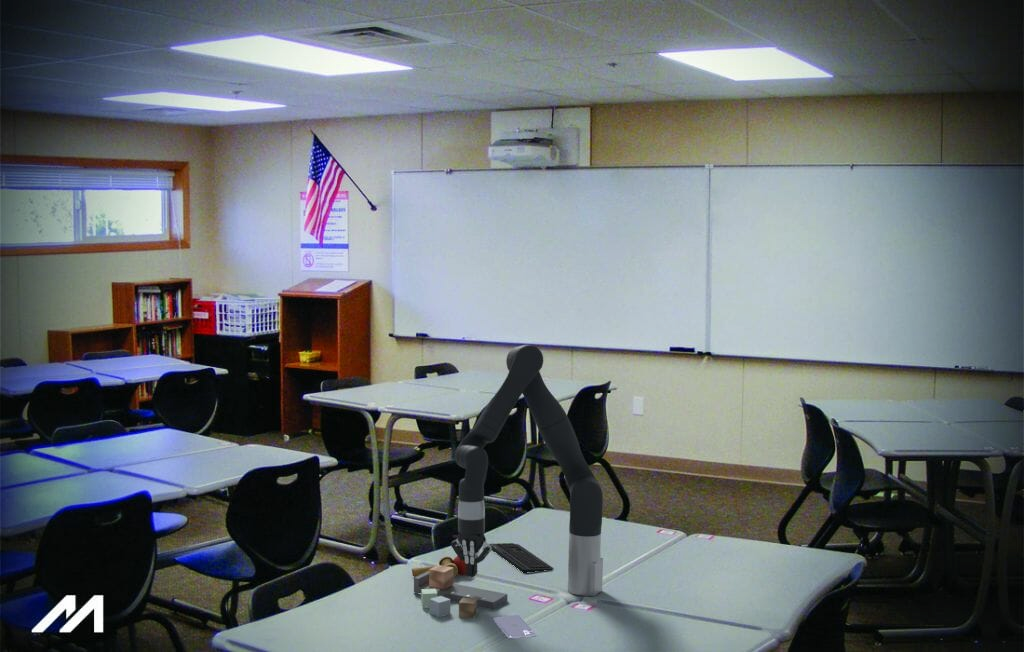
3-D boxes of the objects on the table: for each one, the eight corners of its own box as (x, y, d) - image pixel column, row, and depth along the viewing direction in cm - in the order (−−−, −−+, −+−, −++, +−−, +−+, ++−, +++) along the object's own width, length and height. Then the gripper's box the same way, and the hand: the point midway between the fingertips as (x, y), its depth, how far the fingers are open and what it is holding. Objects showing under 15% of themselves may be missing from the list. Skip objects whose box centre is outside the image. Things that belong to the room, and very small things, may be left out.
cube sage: (435, 602, 276) (435, 588, 275) (437, 607, 272) (437, 593, 271) (421, 603, 275) (421, 589, 274) (422, 608, 271) (422, 593, 271)
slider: (453, 584, 284) (453, 567, 284) (444, 589, 280) (444, 572, 279) (438, 581, 286) (438, 564, 286) (429, 586, 282) (429, 569, 282)
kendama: (416, 587, 292) (475, 574, 297) (413, 565, 293) (472, 553, 298) (412, 583, 300) (470, 571, 305) (409, 562, 300) (466, 551, 305)
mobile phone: (519, 613, 266) (537, 633, 252) (519, 617, 266) (537, 637, 252) (492, 616, 264) (508, 636, 249) (492, 619, 264) (508, 640, 250)
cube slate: (450, 614, 267) (450, 599, 267) (438, 617, 264) (438, 602, 264) (440, 610, 270) (441, 595, 269) (429, 613, 267) (429, 598, 267)
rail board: (507, 601, 278) (507, 585, 277) (493, 609, 271) (493, 593, 270) (428, 585, 290) (429, 570, 289) (413, 593, 283) (414, 577, 282)
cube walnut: (477, 613, 268) (477, 598, 267) (473, 618, 264) (473, 603, 264) (462, 611, 269) (463, 597, 268) (458, 616, 265) (458, 602, 264)
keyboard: (555, 571, 307) (555, 565, 307) (523, 575, 303) (523, 568, 302) (518, 546, 334) (518, 540, 334) (488, 549, 330) (488, 543, 330)
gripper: (498, 515, 278) (498, 575, 279) (457, 509, 284) (457, 569, 285) (485, 521, 271) (485, 583, 272) (444, 515, 277) (444, 576, 278)
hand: (471, 576), depth 279 cm, fingers closed
